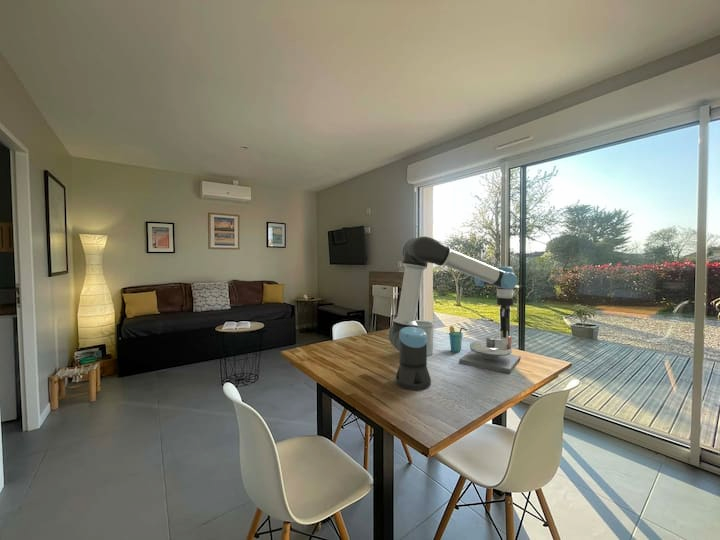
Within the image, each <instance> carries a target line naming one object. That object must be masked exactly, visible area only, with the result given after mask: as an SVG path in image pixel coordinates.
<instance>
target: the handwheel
mask: <svg viewBox="0 0 720 540" xmlns="http://www.w3.org/2000/svg"><path fill="white" fill-rule="evenodd" d="M469 349H470V351H471V350H472V351H473V352H476V353H479V354H483V355H489V356H506V355H510V354H512V352H513V348H512V336H511V335H508V344H502V338H493V337H486V340H479V341H478V340H476V341H473V342H470V345H469Z"/></svg>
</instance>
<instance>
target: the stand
mask: <svg viewBox="0 0 720 540" xmlns="http://www.w3.org/2000/svg"><path fill="white" fill-rule="evenodd" d="M521 357H522V356H521V355H517V354H512V353H511V354H510V355H506V356H489V355H483V354H479V353H476V352H473V351H472V350H471V349H470V351H468V352H467V353H466V354H464V355H463V356H461V358H459V359H458V360H459V364H463V365H467V366H472V367H477V368H483V369H486V370H487V369H488V370H491V371H497V372H502V373H507V374H511V373H512V372H513V370H514V369H515V368H516V366H517V365H518V363H519V362H520V361H521Z"/></svg>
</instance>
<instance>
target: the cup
mask: <svg viewBox="0 0 720 540" xmlns="http://www.w3.org/2000/svg"><path fill="white" fill-rule="evenodd" d="M462 330H463V331H468V329H467V328H465V327H461V328H460V329H459V331H456V329H455V327H454V326H453V325H450V326H449V332H448V335H449V343H450V351H451V352H453V353H456V352H457V353H461V352H462V341H463V336H464V334H463V333H462ZM460 351H461V352H460Z"/></svg>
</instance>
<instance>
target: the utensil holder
mask: <svg viewBox="0 0 720 540" xmlns="http://www.w3.org/2000/svg"><path fill="white" fill-rule="evenodd" d="M415 321H416V323H417V324H418V325H417V328H420V329H422V330H424V331H425V333H426V337H427V357H428V356H429V357H430V356H432V355H433V352H434V330H435V329H434V328H435V323H434V322H433V321H429V320H424V319H423V320H422V319H415Z"/></svg>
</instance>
